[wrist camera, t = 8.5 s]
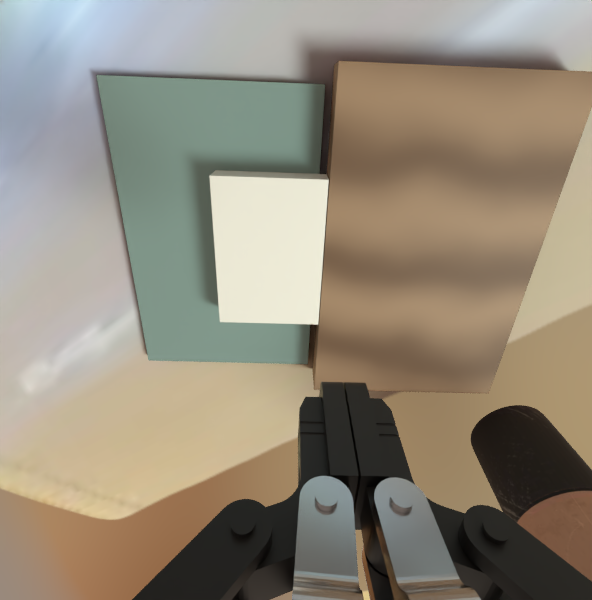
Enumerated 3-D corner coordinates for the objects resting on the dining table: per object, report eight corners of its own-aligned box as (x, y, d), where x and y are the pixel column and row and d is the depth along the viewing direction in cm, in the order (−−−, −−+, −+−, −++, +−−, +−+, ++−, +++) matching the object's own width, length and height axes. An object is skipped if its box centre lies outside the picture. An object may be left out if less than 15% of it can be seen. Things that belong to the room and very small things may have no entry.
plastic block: (215, 170, 24) (209, 175, 22) (326, 173, 24) (328, 179, 22) (224, 308, 28) (219, 321, 27) (316, 310, 28) (318, 324, 27)
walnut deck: (334, 65, 22) (338, 60, 19) (572, 75, 22) (604, 72, 20) (312, 369, 32) (314, 389, 30) (475, 373, 32) (488, 393, 30)
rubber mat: (101, 75, 22) (96, 74, 21) (324, 84, 22) (325, 84, 21) (151, 355, 31) (148, 360, 30) (307, 359, 31) (307, 364, 31)
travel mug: (531, 462, 37) (744, 784, 20) (457, 458, 37) (606, 781, 19) (563, 405, 34) (858, 734, 16) (481, 399, 34) (692, 731, 16)
